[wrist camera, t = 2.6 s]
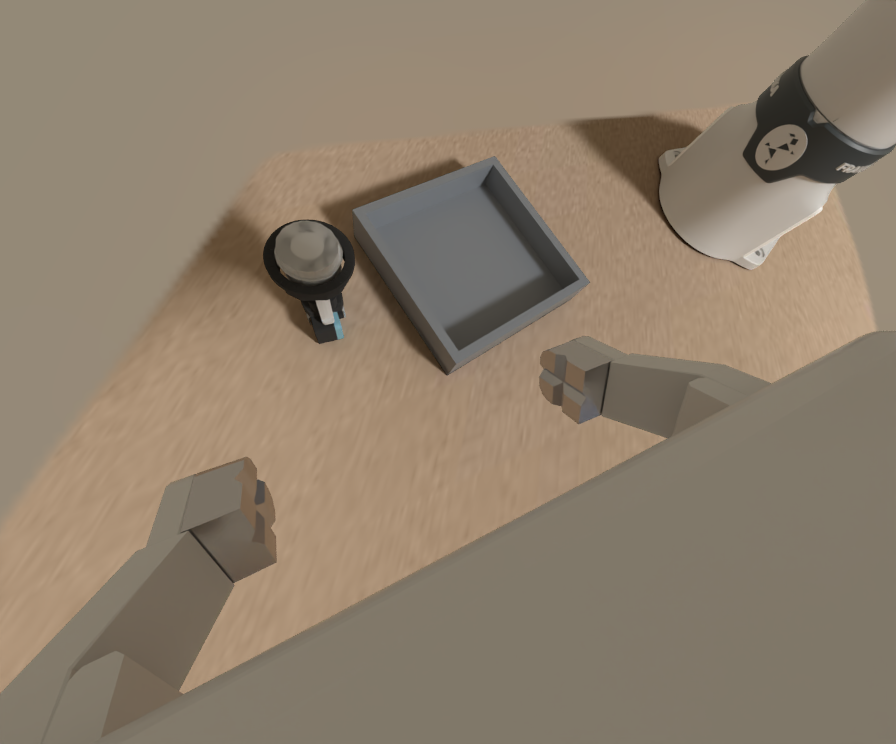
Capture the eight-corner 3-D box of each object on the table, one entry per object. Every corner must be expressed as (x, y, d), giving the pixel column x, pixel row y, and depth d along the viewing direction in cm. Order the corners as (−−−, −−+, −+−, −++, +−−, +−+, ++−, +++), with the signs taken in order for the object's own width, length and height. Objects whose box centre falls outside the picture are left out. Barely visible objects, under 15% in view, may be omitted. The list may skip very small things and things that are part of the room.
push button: (284, 282, 30) (244, 195, 20) (345, 271, 31) (335, 186, 22) (302, 352, 28) (269, 293, 19) (366, 337, 30) (364, 276, 21)
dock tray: (483, 183, 38) (494, 156, 34) (570, 299, 36) (590, 282, 33) (354, 236, 32) (352, 209, 29) (447, 375, 31) (456, 364, 27)
